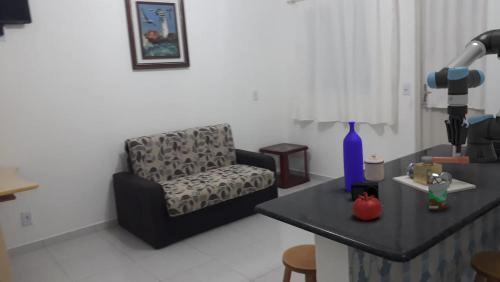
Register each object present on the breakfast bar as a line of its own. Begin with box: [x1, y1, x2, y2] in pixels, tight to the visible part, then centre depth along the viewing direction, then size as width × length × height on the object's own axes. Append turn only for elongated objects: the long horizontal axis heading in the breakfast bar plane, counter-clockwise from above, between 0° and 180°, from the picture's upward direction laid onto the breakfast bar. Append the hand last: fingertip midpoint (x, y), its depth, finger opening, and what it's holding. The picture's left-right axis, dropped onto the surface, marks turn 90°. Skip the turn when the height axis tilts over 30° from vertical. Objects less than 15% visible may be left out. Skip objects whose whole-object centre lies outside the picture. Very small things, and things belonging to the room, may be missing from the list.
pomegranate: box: [351, 192, 383, 221], centre depth 140 cm, size 10×10×9 cm
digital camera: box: [350, 181, 380, 202], centre depth 157 cm, size 10×5×7 cm, turn 69°
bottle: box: [342, 120, 365, 193], centre depth 170 cm, size 8×8×30 cm
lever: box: [420, 155, 470, 165], centre depth 166 cm, size 18×5×2 cm, turn 66°
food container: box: [428, 176, 450, 211], centre depth 143 cm, size 12×6×10 cm, turn 148°
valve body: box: [405, 161, 453, 186], centre depth 170 cm, size 8×20×9 cm, turn 16°
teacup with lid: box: [363, 154, 385, 182], centre depth 186 cm, size 12×9×12 cm
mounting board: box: [392, 174, 477, 194], centre depth 171 cm, size 20×27×1 cm
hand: (456, 160), depth 167 cm, fingers closed
